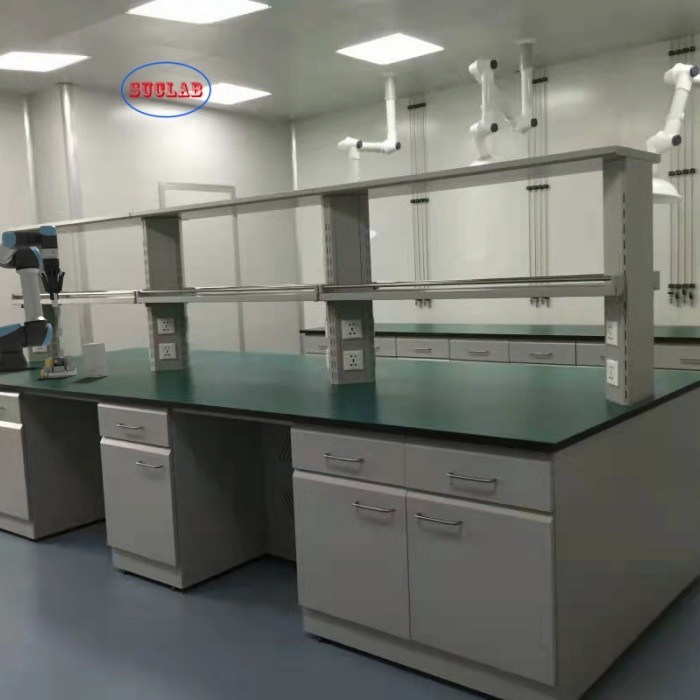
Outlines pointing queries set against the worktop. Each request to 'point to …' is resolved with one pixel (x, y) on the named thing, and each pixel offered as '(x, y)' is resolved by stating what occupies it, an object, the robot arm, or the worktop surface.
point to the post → (42, 374)
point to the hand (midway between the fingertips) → (55, 306)
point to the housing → (60, 362)
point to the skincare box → (95, 360)
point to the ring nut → (66, 367)
